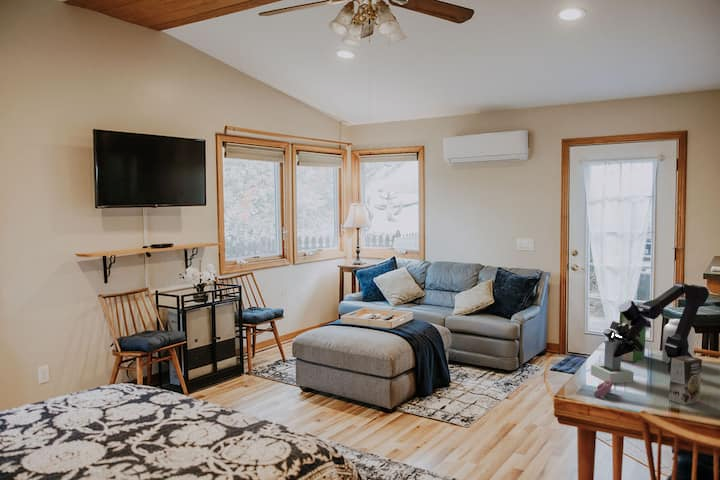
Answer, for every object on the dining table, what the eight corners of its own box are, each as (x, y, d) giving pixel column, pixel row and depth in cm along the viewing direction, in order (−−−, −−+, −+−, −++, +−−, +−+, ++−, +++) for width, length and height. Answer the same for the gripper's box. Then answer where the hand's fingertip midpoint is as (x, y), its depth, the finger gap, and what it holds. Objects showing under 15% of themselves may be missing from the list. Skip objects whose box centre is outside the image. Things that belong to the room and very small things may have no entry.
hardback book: (635, 363, 251) (637, 311, 250) (617, 360, 256) (620, 309, 255) (644, 355, 265) (647, 306, 263) (627, 353, 270) (630, 304, 268)
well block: (613, 372, 237) (613, 363, 237) (633, 381, 226) (633, 372, 225) (590, 374, 235) (591, 365, 234) (609, 383, 223) (610, 373, 223)
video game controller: (603, 402, 205) (613, 388, 203) (592, 395, 207) (602, 380, 205) (607, 395, 214) (617, 380, 212) (596, 388, 216) (605, 373, 214)
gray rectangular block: (613, 368, 233) (615, 340, 232) (622, 371, 228) (623, 343, 227) (604, 368, 232) (605, 340, 231) (612, 372, 227) (613, 343, 226)
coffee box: (685, 405, 199) (687, 362, 198) (668, 400, 205) (670, 357, 204) (700, 401, 204) (703, 359, 202) (683, 396, 209) (685, 354, 208)
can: (660, 363, 253) (662, 320, 251) (663, 357, 263) (665, 315, 262) (692, 368, 246) (694, 324, 244) (694, 361, 256) (696, 319, 255)
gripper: (608, 310, 238) (584, 336, 236) (639, 319, 220) (613, 348, 218) (622, 327, 241) (599, 353, 239) (654, 338, 222) (630, 366, 221)
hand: (610, 355), depth 229 cm, fingers closed on gray rectangular block, 5 cm apart
